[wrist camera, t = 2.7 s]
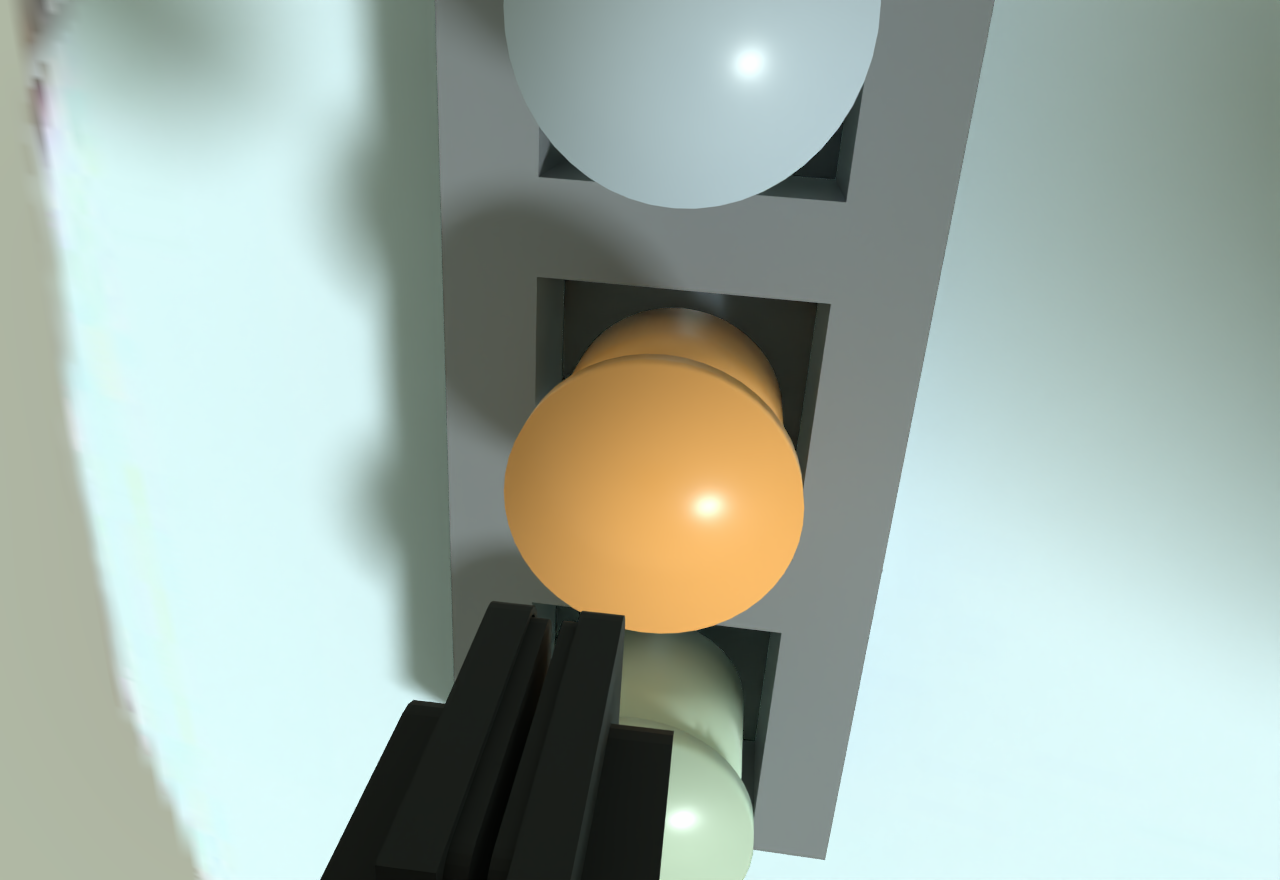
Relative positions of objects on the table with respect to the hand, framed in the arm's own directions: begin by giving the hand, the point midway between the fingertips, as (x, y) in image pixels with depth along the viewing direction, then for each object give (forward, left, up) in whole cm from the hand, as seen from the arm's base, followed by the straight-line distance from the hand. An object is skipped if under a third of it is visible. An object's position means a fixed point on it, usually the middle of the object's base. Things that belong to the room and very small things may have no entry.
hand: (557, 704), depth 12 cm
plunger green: (-1, +8, -10) cm, 13 cm away
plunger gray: (-1, -8, -10) cm, 13 cm away
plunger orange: (-1, 0, -10) cm, 10 cm away
